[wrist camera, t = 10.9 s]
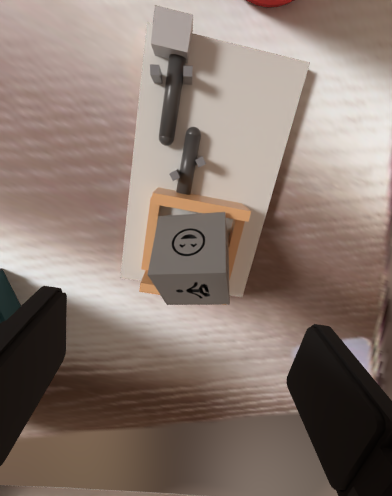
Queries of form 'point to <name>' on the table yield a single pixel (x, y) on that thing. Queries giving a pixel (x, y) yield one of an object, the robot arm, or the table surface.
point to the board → (206, 139)
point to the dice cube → (191, 259)
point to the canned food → (270, 2)
